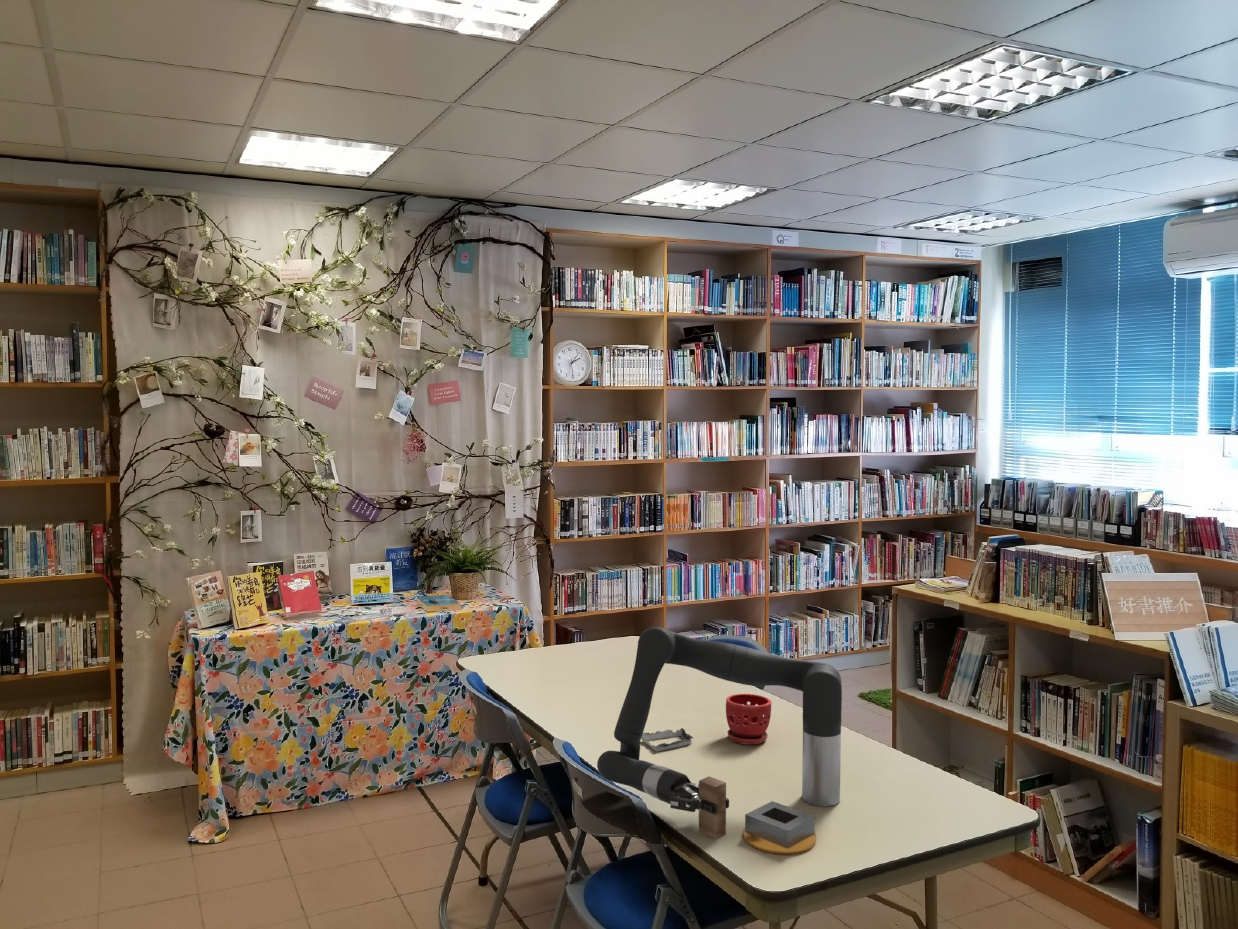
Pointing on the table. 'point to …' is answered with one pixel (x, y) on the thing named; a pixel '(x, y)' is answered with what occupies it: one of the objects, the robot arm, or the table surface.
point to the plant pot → (748, 718)
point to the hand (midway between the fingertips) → (722, 806)
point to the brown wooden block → (717, 794)
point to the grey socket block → (779, 829)
